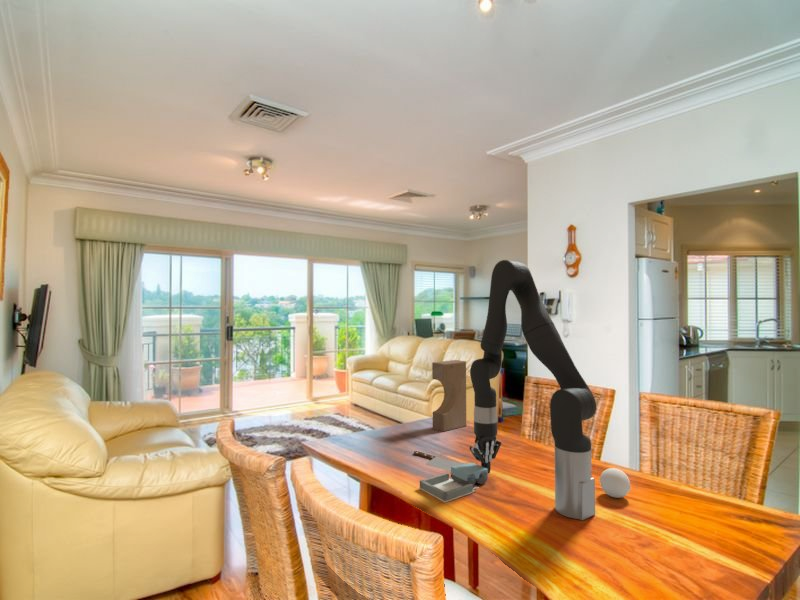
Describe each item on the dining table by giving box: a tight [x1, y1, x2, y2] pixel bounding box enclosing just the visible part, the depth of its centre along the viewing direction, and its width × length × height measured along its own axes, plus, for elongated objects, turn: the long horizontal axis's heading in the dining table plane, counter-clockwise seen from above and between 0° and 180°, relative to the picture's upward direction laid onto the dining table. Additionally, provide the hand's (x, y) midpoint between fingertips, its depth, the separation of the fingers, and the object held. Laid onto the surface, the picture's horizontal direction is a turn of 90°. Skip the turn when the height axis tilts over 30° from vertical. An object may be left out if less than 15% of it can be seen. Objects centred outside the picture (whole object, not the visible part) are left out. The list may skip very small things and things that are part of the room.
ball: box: [599, 467, 631, 499], centre depth 125 cm, size 8×8×8 cm
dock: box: [419, 472, 480, 503], centre depth 130 cm, size 12×15×2 cm
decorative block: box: [431, 359, 467, 433], centre depth 197 cm, size 15×8×30 cm, turn 128°
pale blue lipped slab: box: [450, 462, 489, 486], centre depth 135 cm, size 7×10×4 cm
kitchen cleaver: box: [413, 450, 468, 472], centre depth 152 cm, size 24×1×10 cm
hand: (485, 472), depth 139 cm, fingers closed
